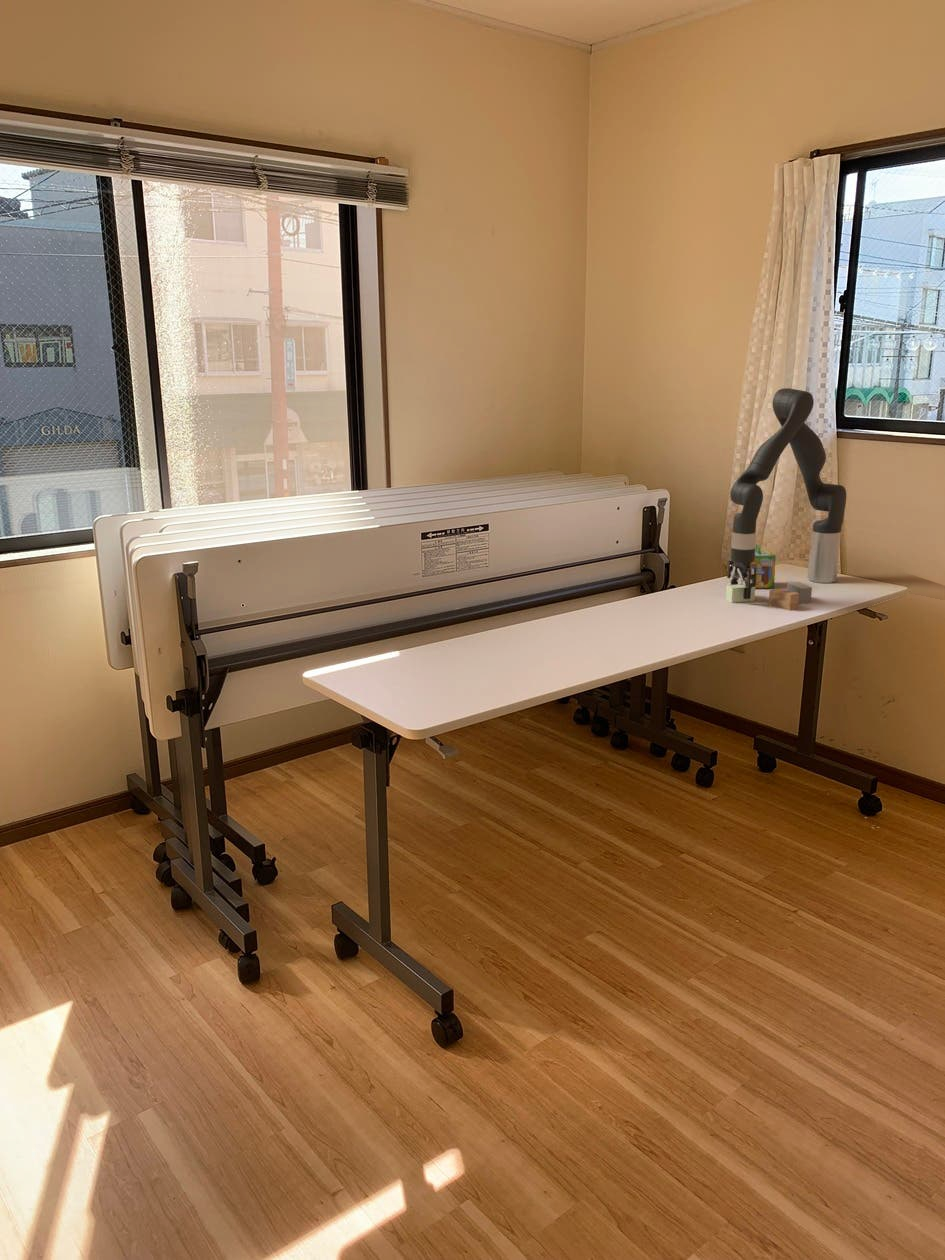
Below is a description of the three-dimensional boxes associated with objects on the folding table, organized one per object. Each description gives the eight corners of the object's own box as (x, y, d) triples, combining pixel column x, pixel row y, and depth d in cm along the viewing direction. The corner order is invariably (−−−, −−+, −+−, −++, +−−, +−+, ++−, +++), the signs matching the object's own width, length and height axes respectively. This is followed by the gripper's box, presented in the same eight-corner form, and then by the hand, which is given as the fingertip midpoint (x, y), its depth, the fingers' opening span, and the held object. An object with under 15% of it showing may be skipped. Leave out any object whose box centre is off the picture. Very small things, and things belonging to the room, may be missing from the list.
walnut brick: (768, 605, 310) (769, 590, 309) (776, 603, 312) (778, 588, 311) (789, 610, 304) (790, 595, 302) (797, 608, 306) (799, 593, 304)
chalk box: (774, 588, 330) (777, 545, 326) (747, 589, 330) (749, 546, 326) (766, 582, 339) (769, 540, 335) (740, 582, 339) (742, 540, 335)
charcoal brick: (786, 597, 319) (787, 582, 318) (797, 596, 320) (798, 581, 318) (799, 603, 311) (800, 588, 310) (810, 602, 312) (812, 587, 311)
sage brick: (731, 603, 314) (732, 588, 312) (725, 600, 317) (726, 585, 316) (754, 601, 315) (755, 586, 314) (748, 598, 319) (749, 583, 318)
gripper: (765, 549, 305) (762, 600, 310) (742, 541, 319) (739, 589, 323) (743, 551, 304) (740, 602, 308) (721, 542, 317) (719, 591, 321)
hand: (740, 595), depth 316 cm, fingers open, 8 cm apart
